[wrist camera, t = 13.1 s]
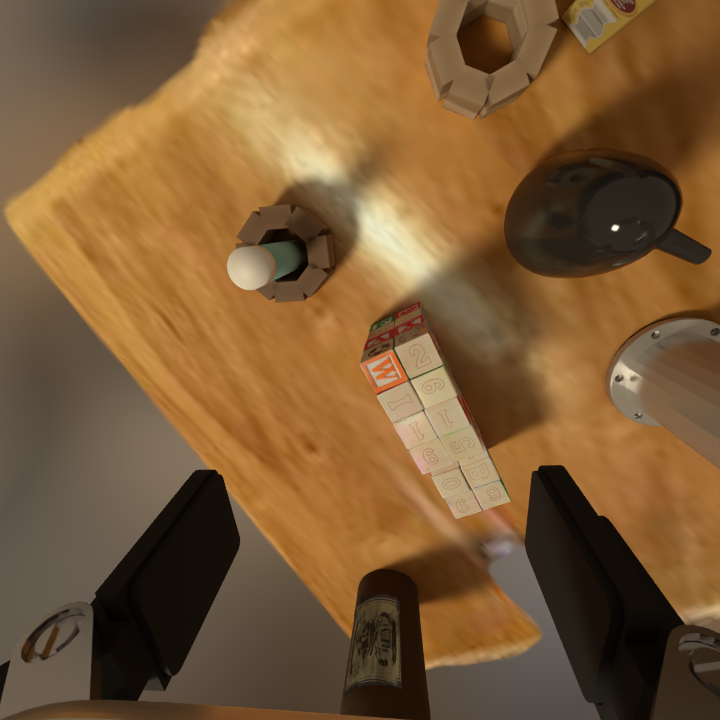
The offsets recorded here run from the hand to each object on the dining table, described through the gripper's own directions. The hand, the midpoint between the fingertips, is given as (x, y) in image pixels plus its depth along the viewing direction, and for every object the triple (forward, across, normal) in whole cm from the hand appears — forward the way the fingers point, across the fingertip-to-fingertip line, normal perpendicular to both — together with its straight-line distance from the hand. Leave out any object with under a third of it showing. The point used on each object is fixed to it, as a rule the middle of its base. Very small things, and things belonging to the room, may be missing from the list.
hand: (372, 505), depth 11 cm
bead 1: (+30, +10, -6) cm, 32 cm away
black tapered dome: (+31, -16, -7) cm, 35 cm away
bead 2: (+30, -9, -21) cm, 38 cm away
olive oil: (+31, +3, +46) cm, 55 cm away
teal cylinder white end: (+30, +10, -6) cm, 32 cm away
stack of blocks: (+31, -4, +11) cm, 33 cm away
